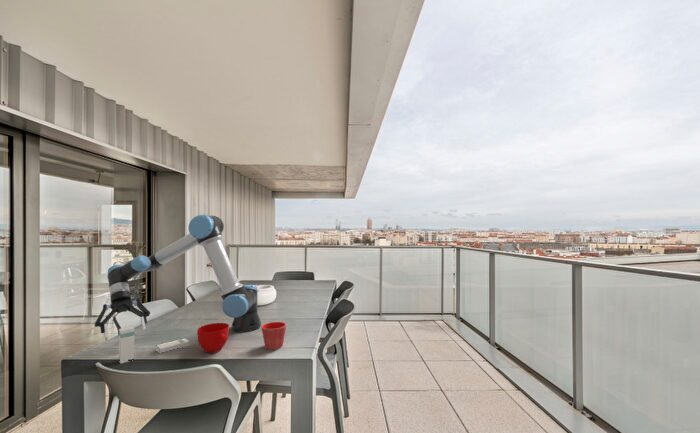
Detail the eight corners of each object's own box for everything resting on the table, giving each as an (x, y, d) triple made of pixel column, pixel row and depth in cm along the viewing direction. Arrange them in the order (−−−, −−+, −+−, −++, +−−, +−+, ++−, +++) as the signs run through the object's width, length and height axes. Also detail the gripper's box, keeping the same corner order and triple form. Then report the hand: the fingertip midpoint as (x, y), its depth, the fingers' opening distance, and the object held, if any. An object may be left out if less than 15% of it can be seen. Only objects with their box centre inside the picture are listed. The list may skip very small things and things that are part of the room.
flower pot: (265, 342, 141) (265, 321, 141) (288, 342, 141) (288, 321, 141) (258, 351, 130) (258, 329, 131) (282, 351, 130) (282, 328, 130)
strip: (185, 342, 142) (185, 337, 142) (189, 345, 138) (189, 341, 138) (155, 350, 134) (155, 345, 134) (159, 353, 130) (159, 348, 130)
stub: (132, 356, 127) (132, 326, 128) (134, 359, 124) (134, 328, 124) (118, 360, 124) (119, 328, 124) (120, 363, 121) (120, 331, 121)
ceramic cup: (209, 361, 121) (209, 336, 121) (192, 351, 132) (192, 328, 132) (238, 351, 131) (238, 328, 131) (220, 342, 142) (220, 321, 142)
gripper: (149, 293, 154) (156, 331, 143) (84, 303, 136) (88, 347, 125) (152, 285, 150) (159, 323, 140) (86, 294, 132) (89, 338, 122)
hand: (126, 334), depth 132 cm, fingers open, 13 cm apart
